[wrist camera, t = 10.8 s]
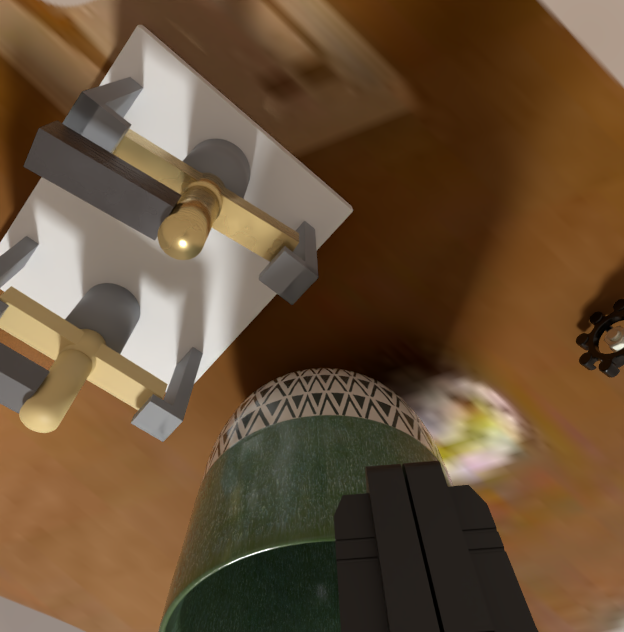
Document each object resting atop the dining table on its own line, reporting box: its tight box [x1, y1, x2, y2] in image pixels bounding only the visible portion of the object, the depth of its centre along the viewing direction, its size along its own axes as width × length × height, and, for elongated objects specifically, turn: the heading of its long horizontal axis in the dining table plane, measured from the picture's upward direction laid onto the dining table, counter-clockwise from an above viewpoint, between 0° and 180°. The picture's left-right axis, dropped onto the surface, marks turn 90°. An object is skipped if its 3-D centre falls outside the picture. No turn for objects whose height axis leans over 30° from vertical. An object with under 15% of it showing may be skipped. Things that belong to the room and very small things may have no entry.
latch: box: [23, 121, 299, 262], centre depth 29 cm, size 14×2×8 cm, turn 57°
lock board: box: [0, 25, 353, 442], centre depth 35 cm, size 22×18×14 cm
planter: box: [159, 368, 453, 632], centre depth 40 cm, size 20×20×21 cm
